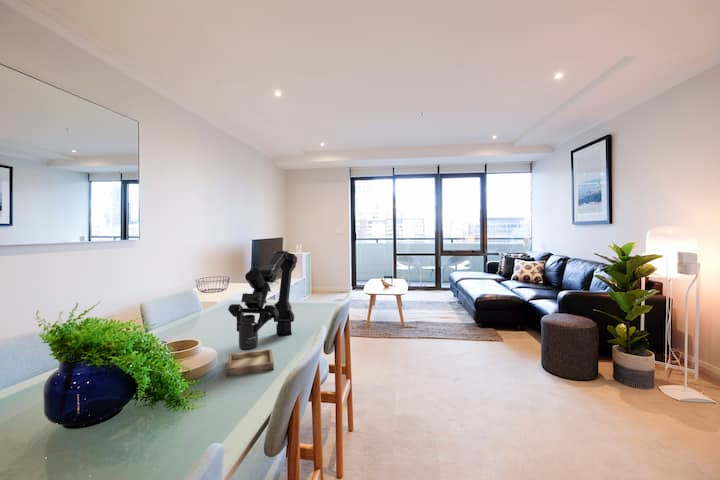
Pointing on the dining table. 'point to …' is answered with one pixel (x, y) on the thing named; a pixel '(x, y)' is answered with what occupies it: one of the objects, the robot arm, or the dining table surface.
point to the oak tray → (249, 362)
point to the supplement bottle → (248, 333)
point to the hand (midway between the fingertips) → (246, 331)
